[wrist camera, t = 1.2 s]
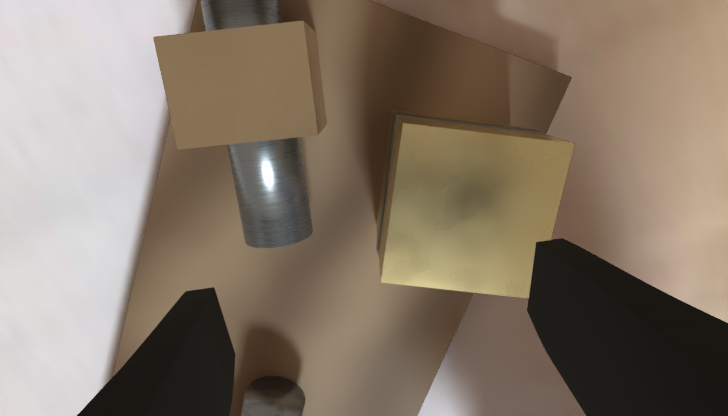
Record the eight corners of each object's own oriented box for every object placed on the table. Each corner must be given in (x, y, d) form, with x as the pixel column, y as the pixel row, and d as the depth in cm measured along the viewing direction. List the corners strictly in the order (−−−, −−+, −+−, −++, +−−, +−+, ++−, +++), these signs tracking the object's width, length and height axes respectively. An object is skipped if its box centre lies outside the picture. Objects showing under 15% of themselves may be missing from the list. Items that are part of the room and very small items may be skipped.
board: (559, 77, 19) (572, 77, 18) (356, 529, 26) (355, 550, 25) (220, -51, 18) (210, -60, 17) (101, 461, 25) (88, 480, 24)
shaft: (338, 219, 20) (333, 251, 16) (231, 230, 20) (202, 263, 16) (311, -1, 17) (298, -22, 14) (189, 13, 18) (144, -4, 14)
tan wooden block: (511, 122, 19) (576, 142, 13) (488, 237, 20) (537, 301, 14) (389, 107, 19) (401, 121, 13) (374, 224, 20) (379, 283, 14)
